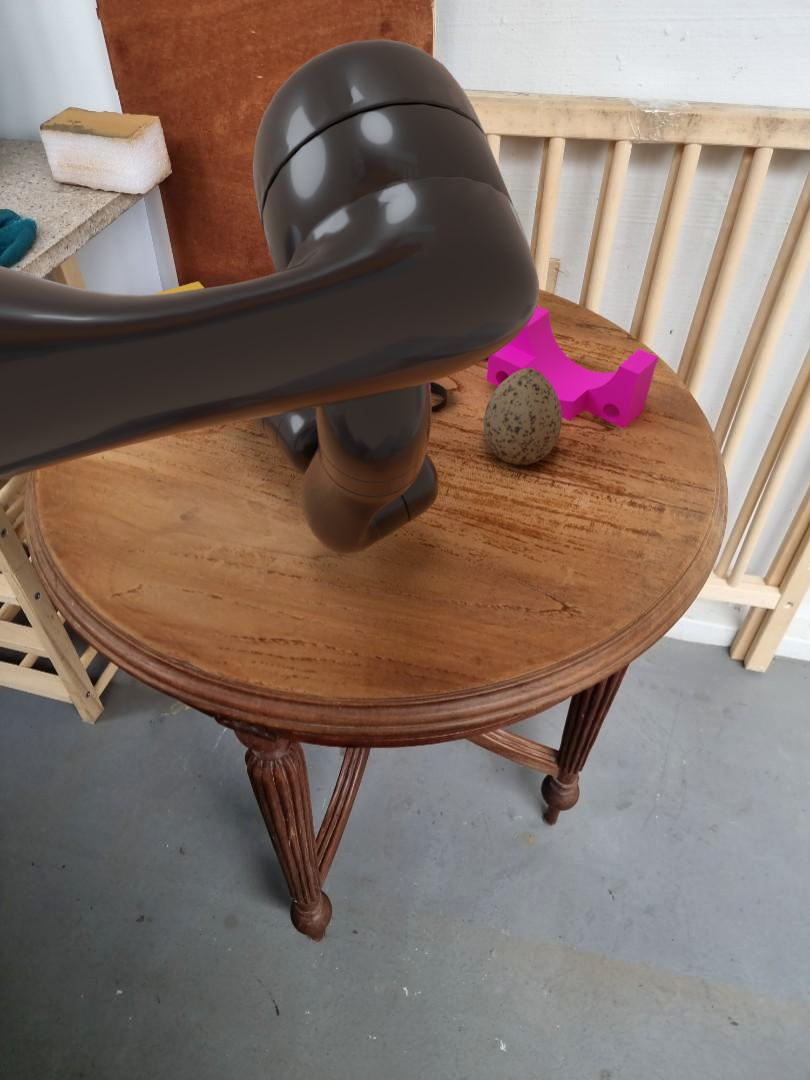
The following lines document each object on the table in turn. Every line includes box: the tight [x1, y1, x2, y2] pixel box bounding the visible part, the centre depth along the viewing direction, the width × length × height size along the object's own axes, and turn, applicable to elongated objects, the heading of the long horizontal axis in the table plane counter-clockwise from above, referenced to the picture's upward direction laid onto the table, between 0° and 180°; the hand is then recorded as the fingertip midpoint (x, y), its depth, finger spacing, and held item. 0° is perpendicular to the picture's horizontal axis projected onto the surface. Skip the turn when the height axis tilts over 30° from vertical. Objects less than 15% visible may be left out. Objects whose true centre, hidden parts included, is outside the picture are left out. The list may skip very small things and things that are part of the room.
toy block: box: [486, 305, 659, 429], centre depth 78 cm, size 15×6×8 cm, turn 49°
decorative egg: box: [483, 368, 563, 466], centre depth 71 cm, size 7×7×10 cm
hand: (203, 300), depth 79 cm, fingers closed
